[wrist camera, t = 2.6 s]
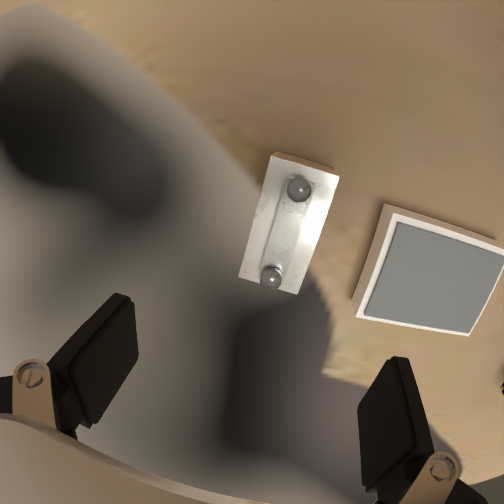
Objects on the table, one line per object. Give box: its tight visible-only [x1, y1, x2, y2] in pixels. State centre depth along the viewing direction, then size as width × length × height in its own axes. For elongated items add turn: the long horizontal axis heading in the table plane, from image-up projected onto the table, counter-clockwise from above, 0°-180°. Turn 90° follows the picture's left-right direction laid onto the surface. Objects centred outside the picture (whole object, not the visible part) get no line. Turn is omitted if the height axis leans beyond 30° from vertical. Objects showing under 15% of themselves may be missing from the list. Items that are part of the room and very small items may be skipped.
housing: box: [239, 151, 339, 294], centre depth 23 cm, size 10×5×6 cm, turn 166°
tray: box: [352, 203, 504, 336], centre depth 24 cm, size 10×14×3 cm
